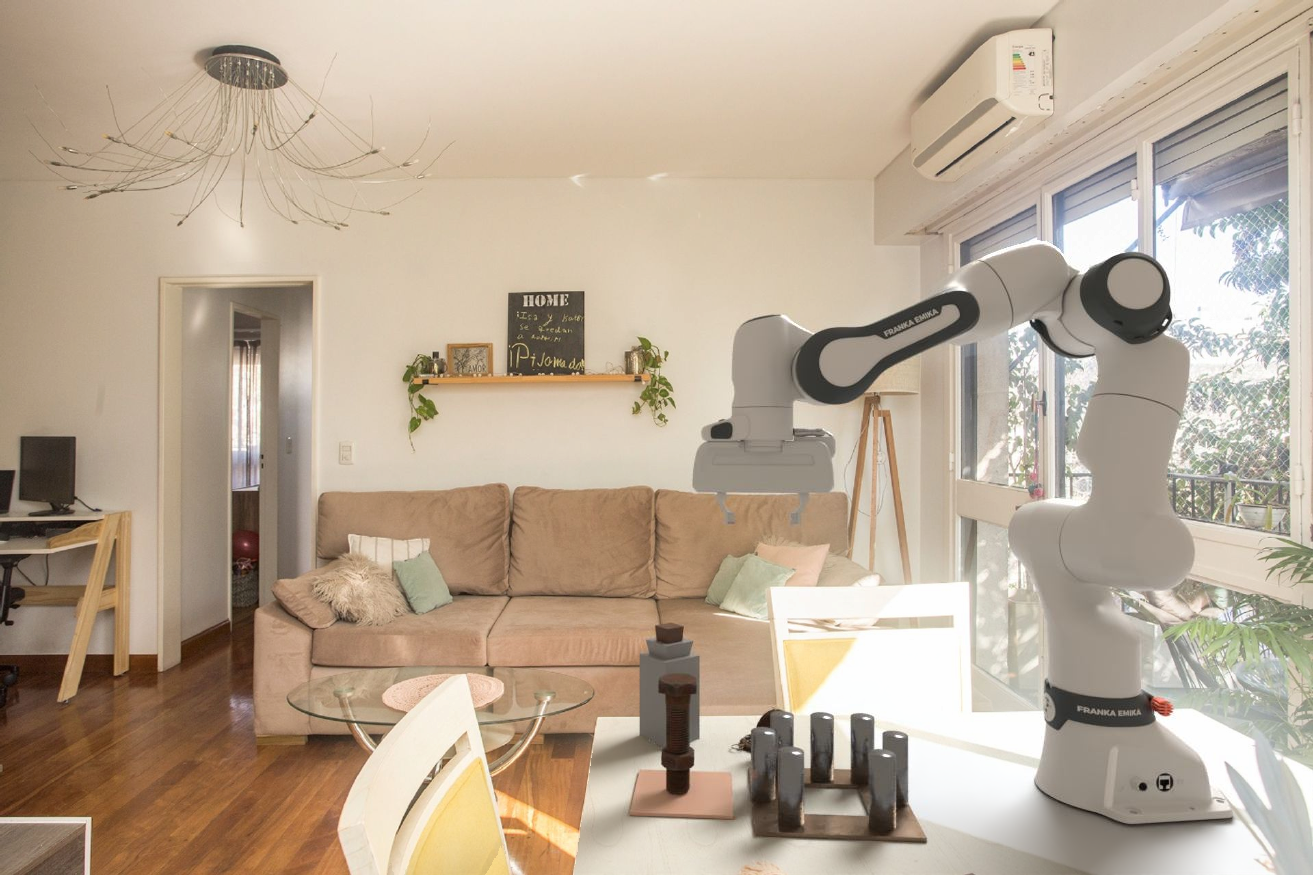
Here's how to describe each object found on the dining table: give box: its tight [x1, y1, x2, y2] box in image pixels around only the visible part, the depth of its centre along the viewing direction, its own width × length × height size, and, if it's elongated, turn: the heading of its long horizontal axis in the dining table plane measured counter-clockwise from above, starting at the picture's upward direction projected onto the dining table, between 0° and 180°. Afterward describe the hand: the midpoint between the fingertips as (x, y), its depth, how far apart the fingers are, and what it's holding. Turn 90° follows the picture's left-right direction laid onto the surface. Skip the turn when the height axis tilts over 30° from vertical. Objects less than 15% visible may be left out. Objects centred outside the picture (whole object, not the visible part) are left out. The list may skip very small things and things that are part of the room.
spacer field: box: [748, 710, 928, 843], centre depth 103 cm, size 20×19×9 cm
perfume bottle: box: [639, 622, 701, 749], centre depth 124 cm, size 7×7×18 cm
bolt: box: [658, 673, 697, 794], centre depth 105 cm, size 6×5×15 cm
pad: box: [629, 769, 734, 820], centre depth 105 cm, size 13×13×1 cm
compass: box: [731, 706, 784, 753], centre depth 120 cm, size 8×8×7 cm
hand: (762, 524), depth 114 cm, fingers open, 8 cm apart
